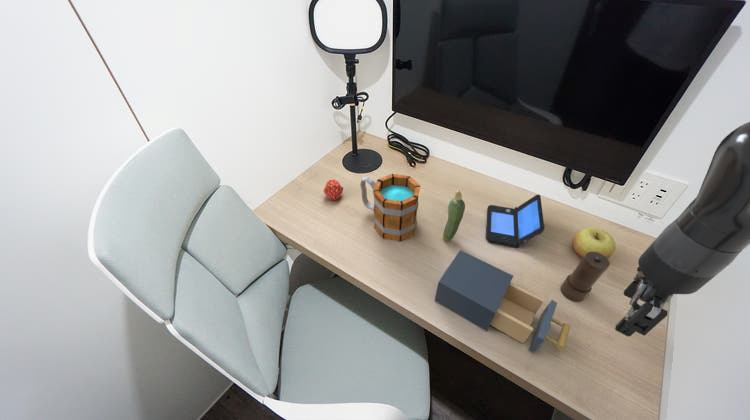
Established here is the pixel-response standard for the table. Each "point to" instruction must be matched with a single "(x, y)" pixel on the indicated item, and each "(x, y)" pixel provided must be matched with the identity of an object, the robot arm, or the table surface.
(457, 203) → the vegetable
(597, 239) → the apple
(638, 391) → the table surface
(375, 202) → the mug
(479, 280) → the cabinet
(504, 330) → the drawer
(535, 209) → the game console
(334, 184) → the red bumpy fruit
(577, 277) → the pepper mill
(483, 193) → the table surface
